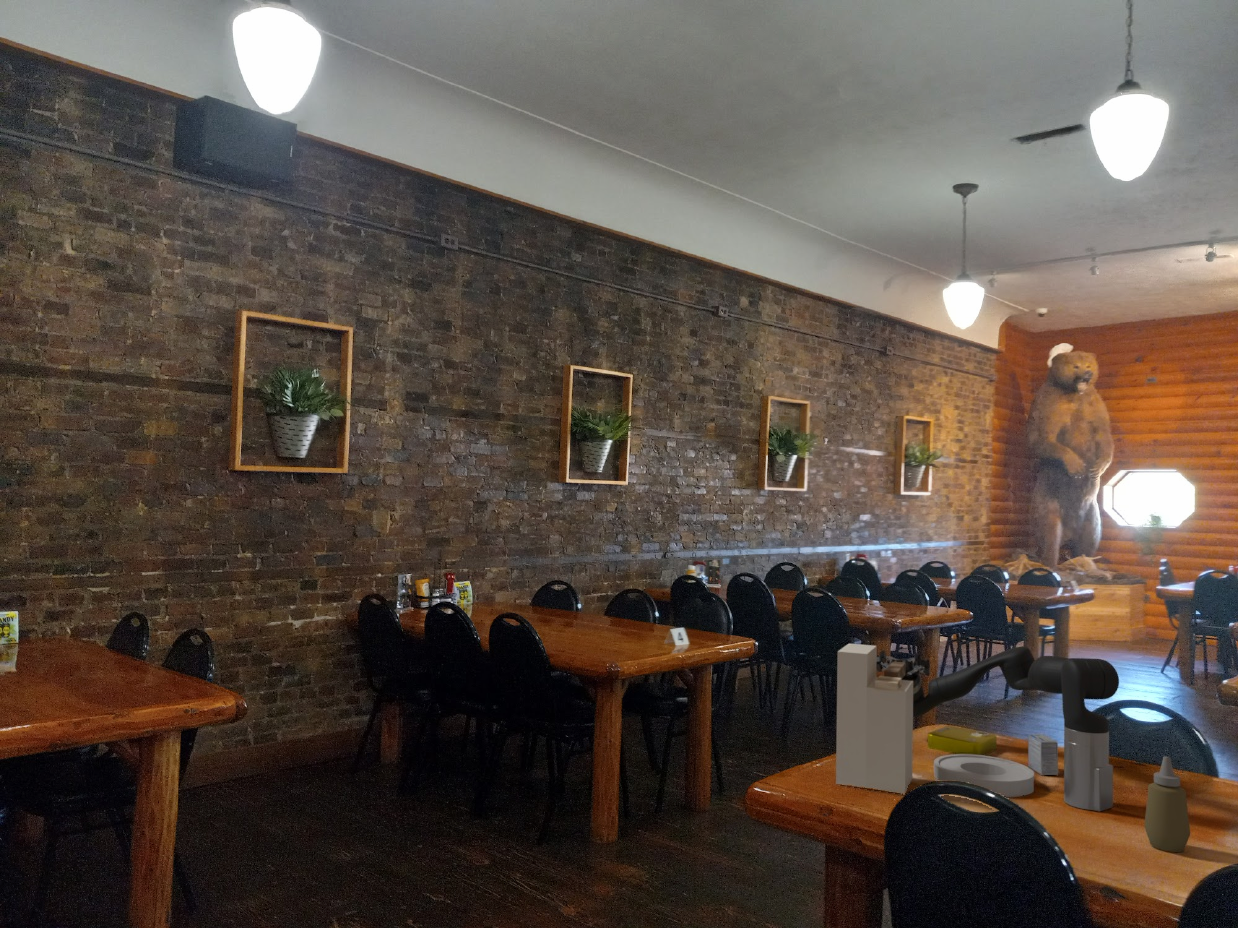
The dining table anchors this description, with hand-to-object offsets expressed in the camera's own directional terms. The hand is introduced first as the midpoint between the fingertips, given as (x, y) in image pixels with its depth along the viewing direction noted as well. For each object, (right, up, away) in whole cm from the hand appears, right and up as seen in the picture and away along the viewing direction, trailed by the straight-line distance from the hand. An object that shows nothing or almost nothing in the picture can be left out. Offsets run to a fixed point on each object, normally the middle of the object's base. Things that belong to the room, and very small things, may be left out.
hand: (899, 654), depth 244 cm
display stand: (-13, -27, -18) cm, 35 cm away
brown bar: (-7, -3, -16) cm, 18 cm away
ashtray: (+15, -28, -17) cm, 37 cm away
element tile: (+22, -30, +15) cm, 40 cm away
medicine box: (+35, -29, -7) cm, 46 cm away
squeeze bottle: (+36, -27, -59) cm, 74 cm away
